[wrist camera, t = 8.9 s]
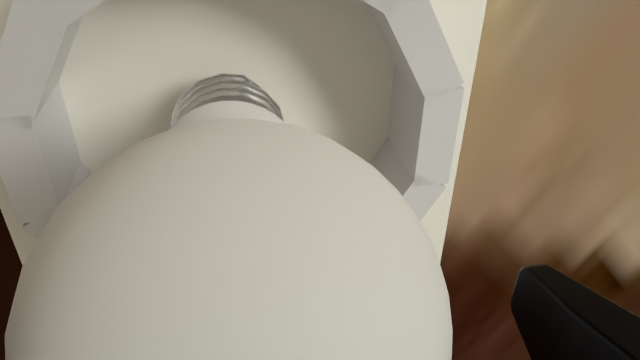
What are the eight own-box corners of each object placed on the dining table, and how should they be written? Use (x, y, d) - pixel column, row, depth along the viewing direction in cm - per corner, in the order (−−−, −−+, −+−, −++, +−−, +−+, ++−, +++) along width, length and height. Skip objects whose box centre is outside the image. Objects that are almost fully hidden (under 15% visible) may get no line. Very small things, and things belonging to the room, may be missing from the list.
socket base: (490, -181, 13) (583, -188, 10) (425, 243, 21) (466, 318, 18) (-119, -194, 11) (-254, -210, 8) (53, 285, 19) (20, 379, 15)
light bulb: (200, -72, 12) (183, 231, 3) (388, 94, 15) (641, 473, 6) (52, 130, 14) (-214, 657, 5) (245, 238, 17) (286, 677, 8)
